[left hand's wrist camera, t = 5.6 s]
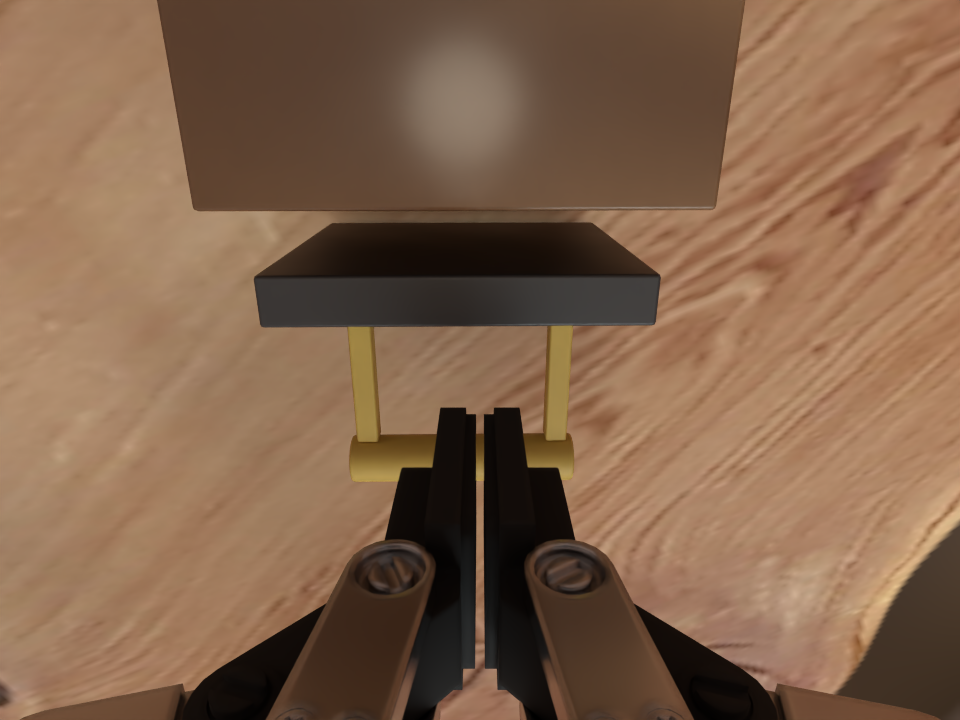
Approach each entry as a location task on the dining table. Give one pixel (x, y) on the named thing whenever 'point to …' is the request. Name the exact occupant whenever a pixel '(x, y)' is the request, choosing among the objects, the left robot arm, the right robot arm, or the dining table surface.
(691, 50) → the cabinet
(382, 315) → the drawer
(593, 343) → the dining table surface
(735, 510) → the dining table surface
